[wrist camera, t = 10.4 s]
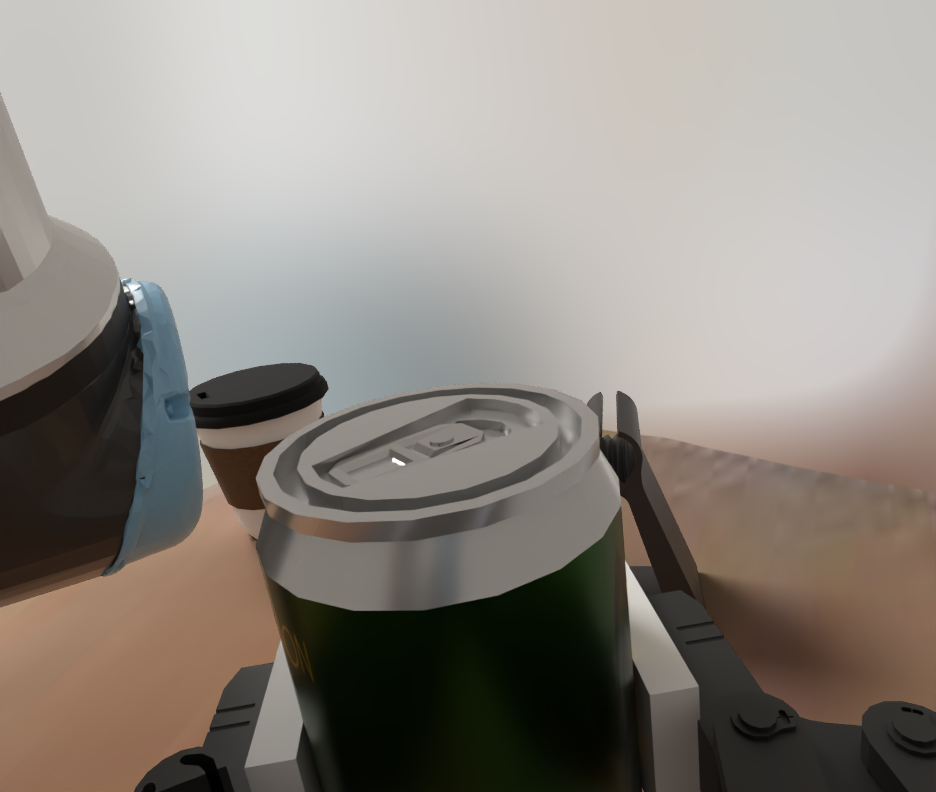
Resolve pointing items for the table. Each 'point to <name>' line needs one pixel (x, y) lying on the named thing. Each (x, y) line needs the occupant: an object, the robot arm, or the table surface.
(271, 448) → the coffee cup
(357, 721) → the beer can
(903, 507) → the table surface
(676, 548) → the phone stand
